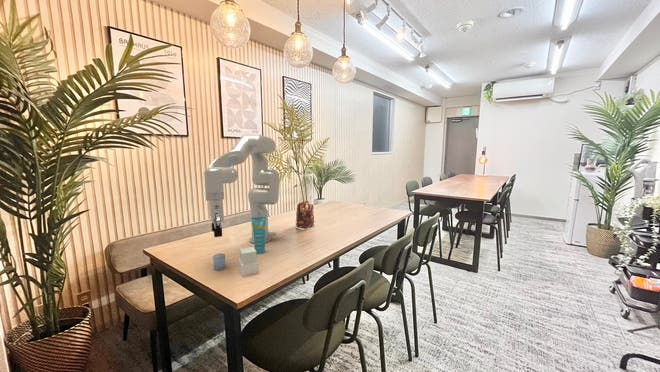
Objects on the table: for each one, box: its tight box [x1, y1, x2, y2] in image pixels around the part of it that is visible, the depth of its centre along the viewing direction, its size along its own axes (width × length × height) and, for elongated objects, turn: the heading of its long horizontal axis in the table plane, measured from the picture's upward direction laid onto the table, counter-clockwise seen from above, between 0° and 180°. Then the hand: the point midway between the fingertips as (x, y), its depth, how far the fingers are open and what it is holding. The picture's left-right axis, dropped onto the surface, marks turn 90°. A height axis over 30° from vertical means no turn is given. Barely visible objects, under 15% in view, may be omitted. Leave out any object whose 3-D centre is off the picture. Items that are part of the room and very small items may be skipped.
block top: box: [239, 246, 258, 265], centre depth 120 cm, size 6×6×5 cm
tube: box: [250, 216, 266, 255], centre depth 142 cm, size 7×5×19 cm, turn 103°
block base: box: [238, 259, 260, 277], centre depth 121 cm, size 7×7×5 cm
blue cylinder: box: [212, 253, 227, 271], centre depth 124 cm, size 5×5×6 cm
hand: (217, 233), depth 122 cm, fingers open, 9 cm apart
